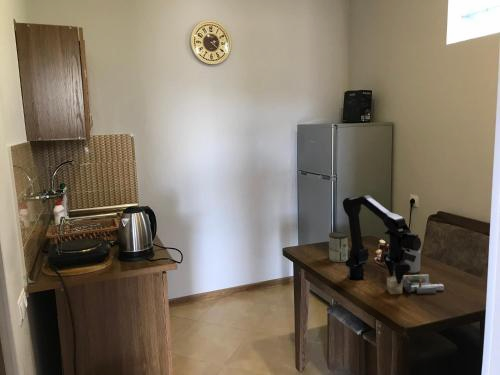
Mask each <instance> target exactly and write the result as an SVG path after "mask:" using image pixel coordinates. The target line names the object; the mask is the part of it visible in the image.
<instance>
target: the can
mask: <svg viewBox="0 0 500 375" xmlns="http://www.w3.org/2000/svg"><path fill="white" fill-rule="evenodd" d="M410 252H412V253H413V254H415V255H416V259H415V261H414V263H413V262H411V261H408V260H405V261H404V262H406V263H407V264H409V265H410V266H411V270H410V271H409V272H408V273H410V274H417V273H419V272H420V270H421V251H420V249H419V250H418V251H414V250H410Z"/></svg>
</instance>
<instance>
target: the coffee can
mask: <svg viewBox="0 0 500 375" xmlns="http://www.w3.org/2000/svg"><path fill="white" fill-rule="evenodd" d="M348 237H349V233H347V232H345V231H344V232H343V231H333V232H329V233H328V248H329V249H328V256H329V257H328V259H329V260H330V261H331V262H335V263H343V262H344V263H345V261H347V260H348V259H349V257H348V256H349V254H348V253H349V251H348V250H349V246H348V245H349V244H348V243H349V238H348Z"/></svg>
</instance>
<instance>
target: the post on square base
mask: <svg viewBox="0 0 500 375" xmlns="http://www.w3.org/2000/svg"><path fill="white" fill-rule="evenodd" d="M430 286H435V287H436V291H444V290H445V286H444V284H443V283H431V284H425V285H422V280H419V285H411V282H410V281H409V280H408V279H404V287H403V289H404V290H405V291H406V292H407V293H409V294H411V293H412V292H416V287H430Z"/></svg>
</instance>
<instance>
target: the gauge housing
mask: <svg viewBox="0 0 500 375" xmlns="http://www.w3.org/2000/svg"><path fill="white" fill-rule="evenodd" d="M404 279H408V280H409V281H410V282H411V285H419V280H422V285H425V284H432V283H431V282H430V275H429V274H408V275H406V274H404V276H403V278H402V288H404ZM415 292H416V293H417V295H419V294H420V295H421V294H437V290H436V287H435V286H430V287H416V291H415Z"/></svg>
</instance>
